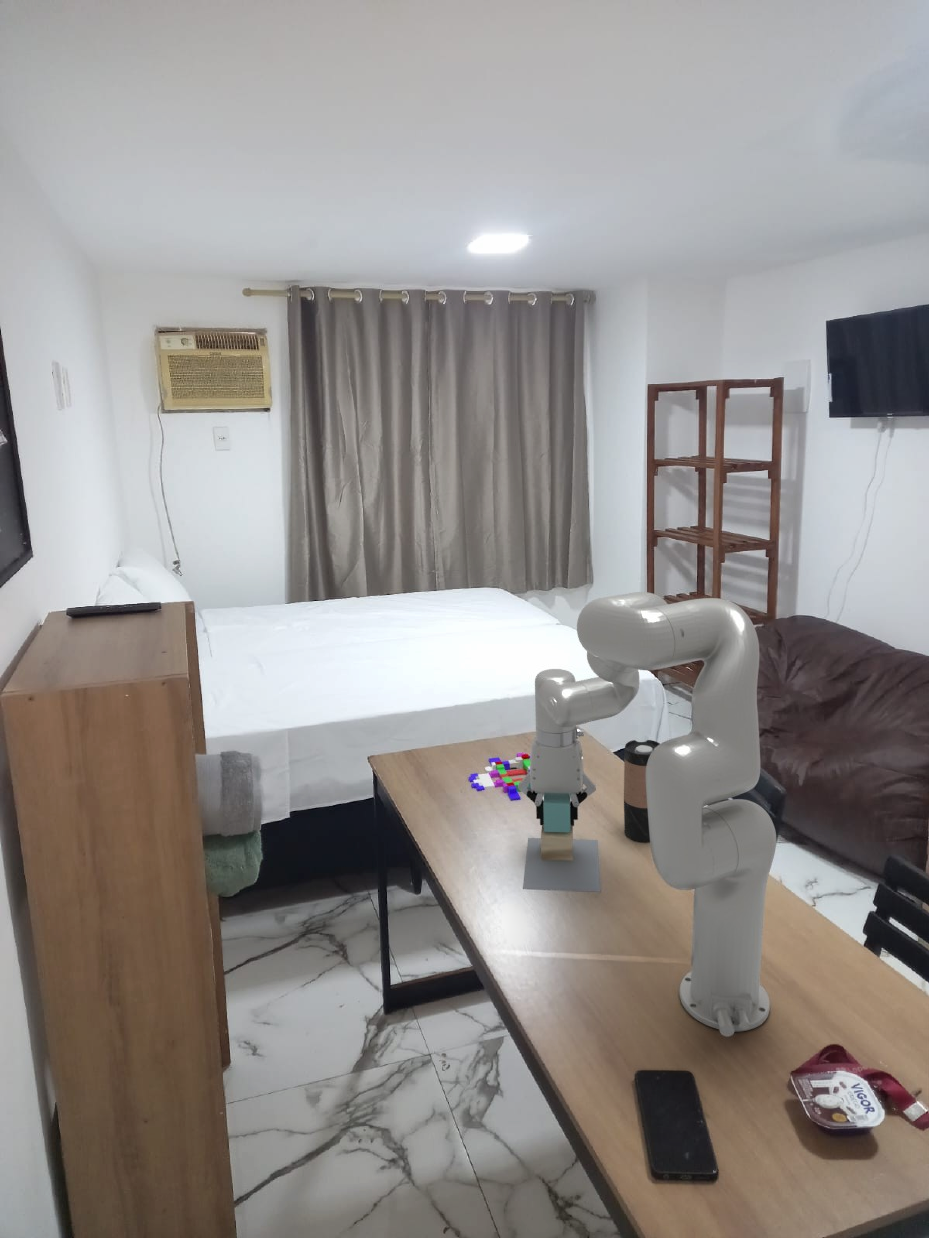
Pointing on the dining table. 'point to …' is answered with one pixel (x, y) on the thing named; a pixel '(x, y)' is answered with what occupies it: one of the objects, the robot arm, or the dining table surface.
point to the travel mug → (636, 790)
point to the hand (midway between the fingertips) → (557, 821)
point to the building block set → (503, 775)
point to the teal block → (556, 812)
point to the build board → (563, 868)
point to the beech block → (557, 845)
